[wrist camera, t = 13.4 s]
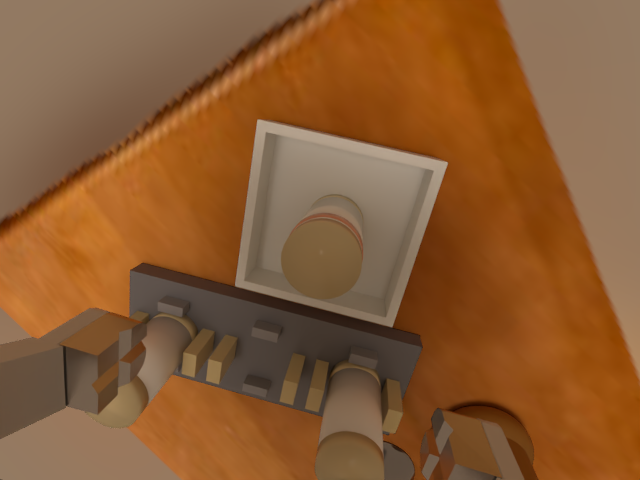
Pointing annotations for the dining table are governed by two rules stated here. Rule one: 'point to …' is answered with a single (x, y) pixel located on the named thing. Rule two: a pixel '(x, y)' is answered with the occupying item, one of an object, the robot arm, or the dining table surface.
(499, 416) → the ornamental finial
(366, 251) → the tray
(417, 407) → the dining table surface
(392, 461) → the wine glass
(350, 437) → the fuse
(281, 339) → the fuse block
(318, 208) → the marked fuse
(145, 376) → the fuse
